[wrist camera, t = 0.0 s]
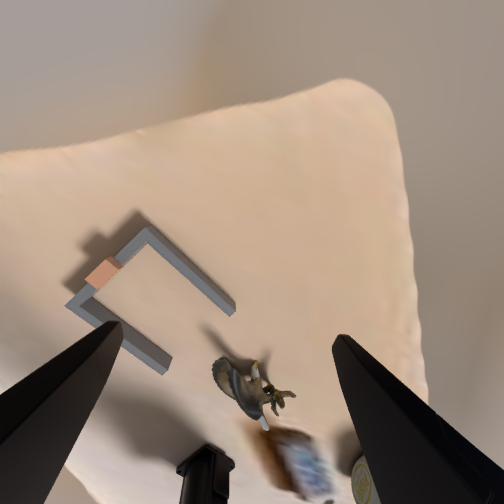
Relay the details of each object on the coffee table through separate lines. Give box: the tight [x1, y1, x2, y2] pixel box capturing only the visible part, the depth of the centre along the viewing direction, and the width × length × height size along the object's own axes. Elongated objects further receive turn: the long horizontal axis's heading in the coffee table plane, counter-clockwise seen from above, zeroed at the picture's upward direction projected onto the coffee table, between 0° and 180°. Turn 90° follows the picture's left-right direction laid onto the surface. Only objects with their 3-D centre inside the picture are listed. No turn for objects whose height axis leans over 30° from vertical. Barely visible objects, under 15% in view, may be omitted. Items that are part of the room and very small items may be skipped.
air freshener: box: [351, 455, 381, 504], centre depth 31 cm, size 11×8×10 cm
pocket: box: [65, 225, 236, 375], centre depth 23 cm, size 12×13×3 cm
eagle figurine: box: [212, 359, 296, 431], centre depth 25 cm, size 8×7×9 cm
